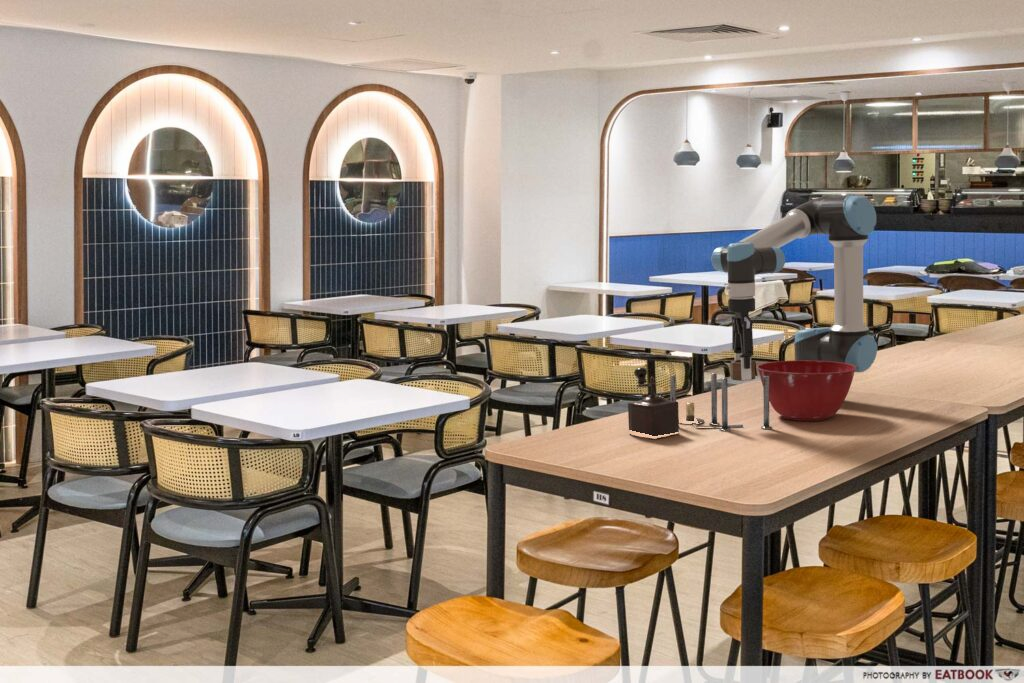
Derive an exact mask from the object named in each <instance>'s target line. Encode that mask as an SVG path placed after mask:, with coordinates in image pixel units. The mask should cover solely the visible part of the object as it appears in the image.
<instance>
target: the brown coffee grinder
mask: <svg viewBox="0 0 1024 683" xmlns="http://www.w3.org/2000/svg"><path fill="white" fill-rule="evenodd" d="M633 375H634V376H635V377H636V378H637V385H636V388H647V387H650V394H649V395H647V396H645V397H643V398H642V399H640V400H636V401H632V402H629V403H627V412H628V415H627V417H628V418H627V419H628V431H629V430H632V431H636V432H640V433H645V434H649V435H652V436H658V435H664V434H670V433H675V432H679V430H680V428H679V427H680V424H679V419H680V417H679V402H678V401H677V400H676V401H671V399H669V398H665V397H664V396H663V393H662V392H661V393H659V394H656V393H655V384H656V382H655V377H654V376H651V377H650V378H649V383H647V382H648V380H647V379H646V377H647V375H648V370H647V368H646V367H638V368H636V369H634V371H633ZM679 433H680V432H679Z"/></svg>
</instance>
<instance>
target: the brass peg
mask: <svg viewBox="0 0 1024 683" xmlns="http://www.w3.org/2000/svg"><path fill="white" fill-rule="evenodd" d="M685 411H686V412H685V418H686V421H694V418H696V419H697V421H698V423H700V422H704V423H705V419H702V418H697V417H695V402H691V401H689V402H685Z"/></svg>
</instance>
